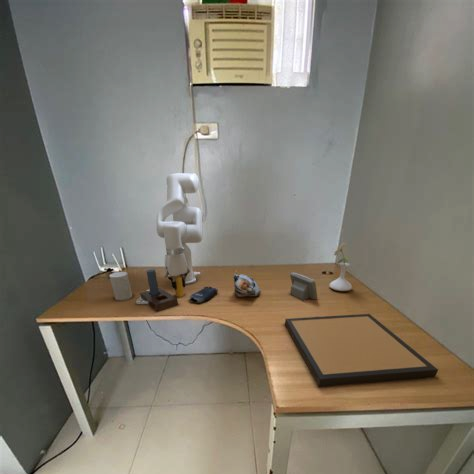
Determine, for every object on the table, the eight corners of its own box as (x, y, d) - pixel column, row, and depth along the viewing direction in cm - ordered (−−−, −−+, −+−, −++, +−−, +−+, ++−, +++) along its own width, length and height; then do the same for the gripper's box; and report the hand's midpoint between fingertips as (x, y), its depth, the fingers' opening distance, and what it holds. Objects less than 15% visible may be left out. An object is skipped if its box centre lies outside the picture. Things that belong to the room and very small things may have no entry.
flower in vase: (339, 284, 143) (348, 238, 131) (356, 290, 134) (366, 242, 122) (321, 288, 138) (329, 241, 126) (337, 295, 129) (347, 245, 117)
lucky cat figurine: (265, 294, 130) (263, 276, 119) (247, 308, 127) (243, 290, 116) (247, 279, 138) (243, 260, 127) (230, 291, 135) (224, 273, 124)
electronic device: (202, 293, 136) (185, 300, 123) (203, 283, 134) (186, 289, 121) (217, 298, 133) (201, 306, 120) (219, 288, 131) (203, 295, 118)
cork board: (318, 386, 71) (434, 377, 74) (320, 379, 70) (438, 369, 73) (285, 324, 103) (367, 319, 106) (285, 318, 101) (369, 313, 104)
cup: (126, 300, 126) (120, 277, 120) (111, 299, 127) (105, 276, 122) (135, 294, 133) (130, 272, 127) (121, 293, 134) (116, 271, 129)
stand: (161, 293, 133) (160, 287, 132) (178, 304, 121) (177, 298, 119) (141, 299, 127) (139, 292, 126) (156, 311, 115) (155, 304, 113)
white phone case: (151, 304, 121) (161, 292, 134) (150, 301, 120) (160, 290, 134) (136, 304, 122) (147, 292, 135) (135, 301, 121) (147, 289, 134)
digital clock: (318, 300, 124) (321, 279, 119) (302, 302, 121) (305, 281, 116) (300, 288, 137) (302, 269, 132) (285, 291, 135) (287, 271, 130)
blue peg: (157, 297, 129) (153, 268, 122) (161, 299, 126) (156, 270, 119) (150, 299, 127) (144, 270, 120) (153, 301, 124) (148, 272, 117)
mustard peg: (181, 293, 134) (179, 275, 129) (185, 295, 131) (183, 276, 126) (174, 295, 131) (172, 276, 127) (178, 297, 129) (175, 278, 124)
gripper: (185, 247, 128) (189, 282, 136) (154, 252, 119) (160, 289, 127) (193, 250, 123) (196, 285, 131) (161, 255, 113) (167, 293, 122)
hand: (178, 287), depth 129 cm, fingers closed on mustard peg, 3 cm apart
